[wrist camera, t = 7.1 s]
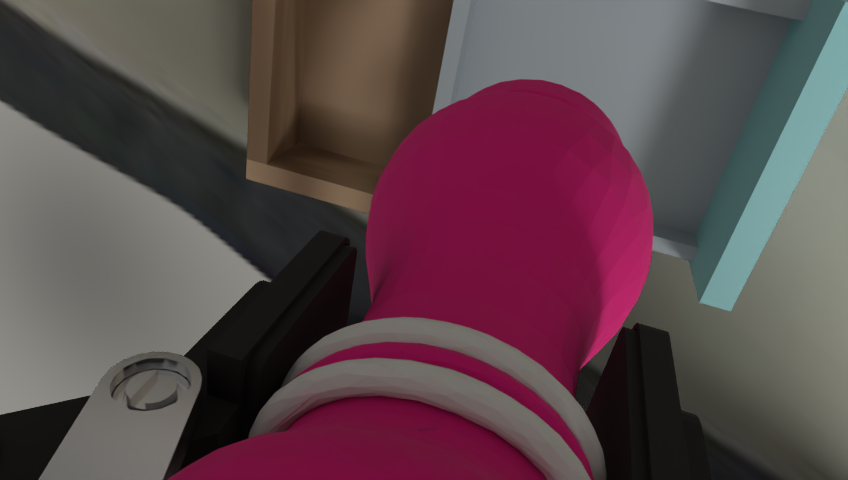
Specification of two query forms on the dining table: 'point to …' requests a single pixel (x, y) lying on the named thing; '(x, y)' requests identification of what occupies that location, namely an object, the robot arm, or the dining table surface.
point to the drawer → (679, 102)
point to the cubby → (339, 90)
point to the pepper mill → (470, 305)
